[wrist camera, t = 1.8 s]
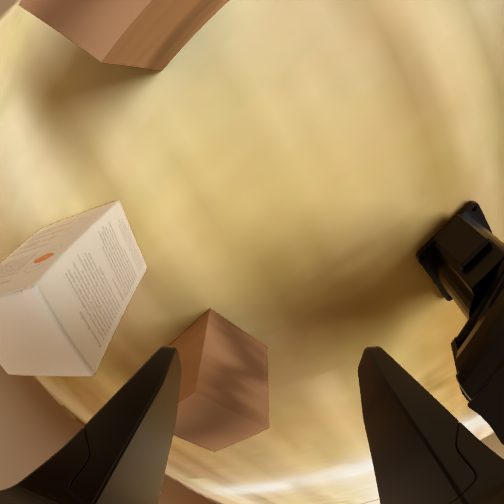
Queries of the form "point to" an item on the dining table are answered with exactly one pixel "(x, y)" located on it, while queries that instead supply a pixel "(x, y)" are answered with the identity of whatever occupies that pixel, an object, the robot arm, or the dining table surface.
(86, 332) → the small box
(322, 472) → the dining table surface
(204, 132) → the dining table surface
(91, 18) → the walnut block seven
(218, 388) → the walnut block one
